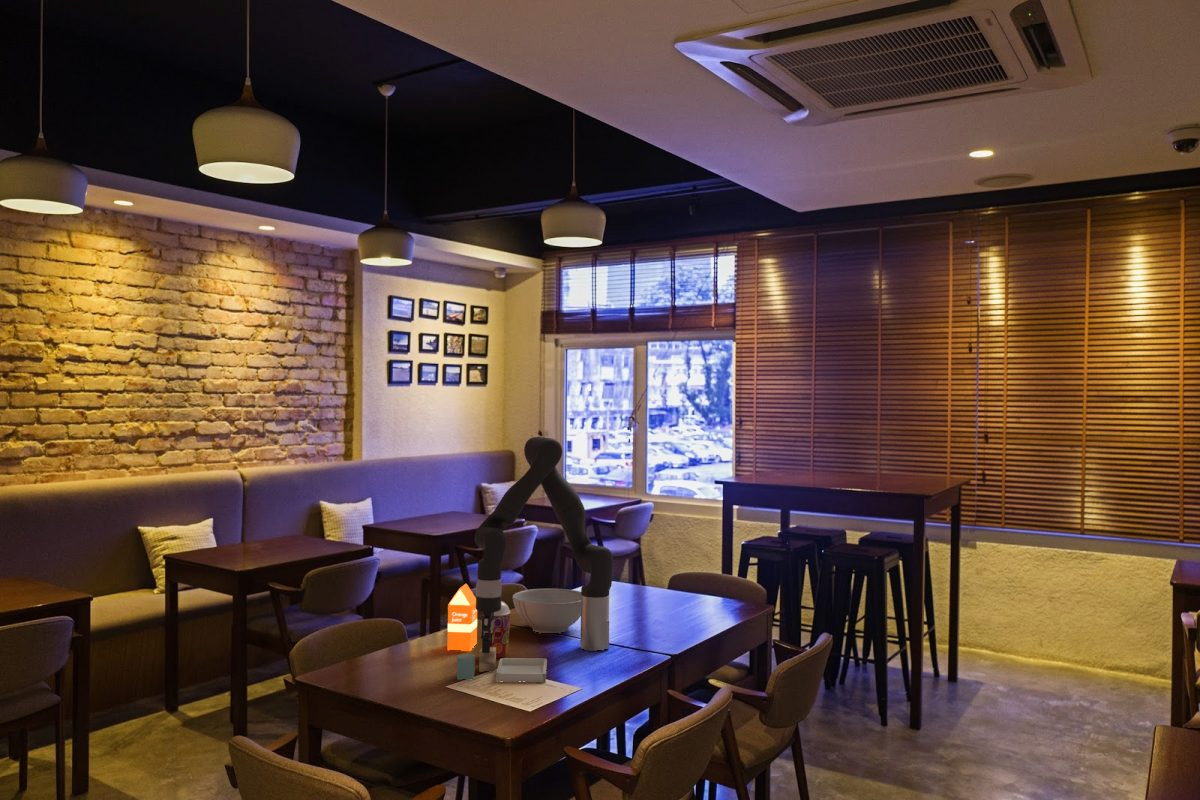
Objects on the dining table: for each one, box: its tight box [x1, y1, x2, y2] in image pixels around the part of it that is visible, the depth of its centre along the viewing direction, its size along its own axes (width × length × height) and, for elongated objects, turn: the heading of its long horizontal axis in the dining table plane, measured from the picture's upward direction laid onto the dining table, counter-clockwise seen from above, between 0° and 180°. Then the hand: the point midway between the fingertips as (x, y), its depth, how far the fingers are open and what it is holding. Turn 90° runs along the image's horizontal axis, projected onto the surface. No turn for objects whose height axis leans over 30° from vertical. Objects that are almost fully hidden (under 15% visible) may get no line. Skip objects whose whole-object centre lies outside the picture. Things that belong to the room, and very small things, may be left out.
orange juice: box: [446, 583, 478, 652], centre depth 286 cm, size 8×9×20 cm
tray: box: [495, 657, 548, 683], centre depth 257 cm, size 14×16×2 cm
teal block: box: [456, 653, 476, 681], centre depth 253 cm, size 4×4×6 cm
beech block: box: [478, 646, 497, 673], centre depth 261 cm, size 4×4×6 cm
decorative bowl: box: [512, 588, 581, 634], centre depth 311 cm, size 27×27×12 cm
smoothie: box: [490, 600, 512, 659], centre depth 276 cm, size 8×8×20 cm
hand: (487, 649), depth 261 cm, fingers open, 8 cm apart
